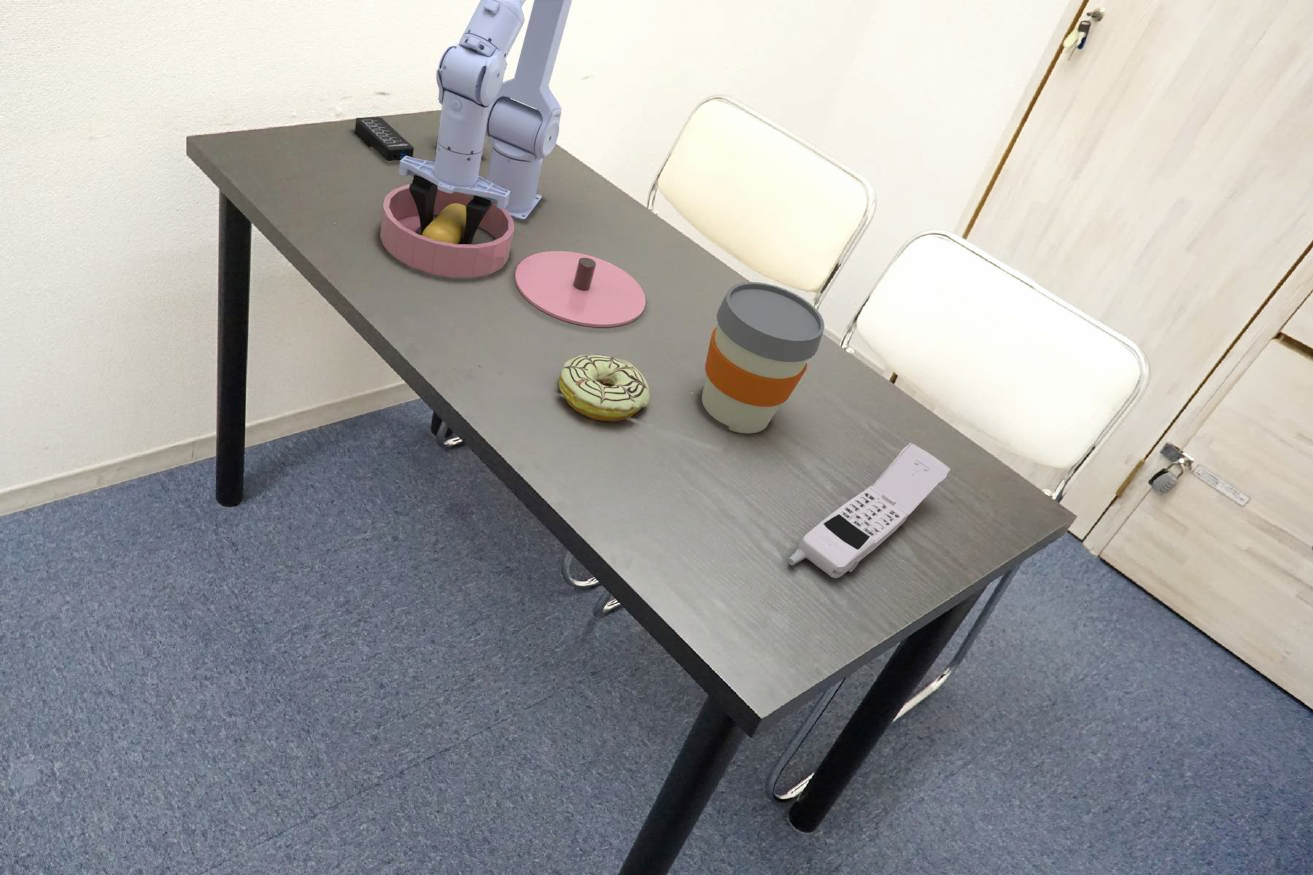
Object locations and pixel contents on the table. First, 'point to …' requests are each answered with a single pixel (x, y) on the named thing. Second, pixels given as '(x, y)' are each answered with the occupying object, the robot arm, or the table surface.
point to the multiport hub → (383, 138)
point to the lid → (580, 289)
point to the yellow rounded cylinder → (448, 224)
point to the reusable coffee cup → (758, 354)
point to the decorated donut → (603, 387)
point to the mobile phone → (871, 513)
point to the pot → (439, 255)
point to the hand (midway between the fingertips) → (446, 238)
